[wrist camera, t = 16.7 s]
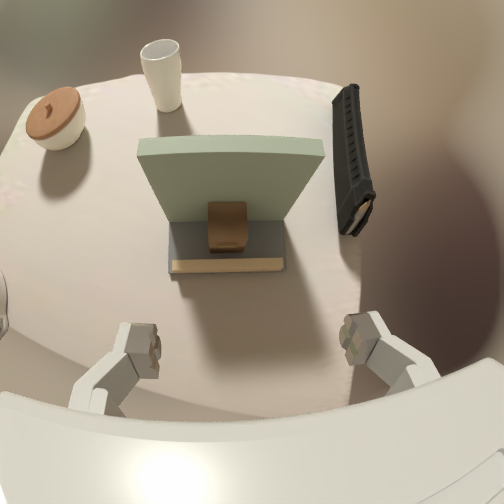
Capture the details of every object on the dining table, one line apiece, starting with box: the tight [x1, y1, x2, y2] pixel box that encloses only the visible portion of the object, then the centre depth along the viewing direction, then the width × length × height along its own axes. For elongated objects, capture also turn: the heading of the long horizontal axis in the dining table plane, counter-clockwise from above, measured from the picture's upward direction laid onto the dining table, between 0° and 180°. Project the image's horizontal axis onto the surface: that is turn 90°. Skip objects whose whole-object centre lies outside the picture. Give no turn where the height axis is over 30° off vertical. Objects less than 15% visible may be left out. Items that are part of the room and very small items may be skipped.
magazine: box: [332, 84, 376, 237], centre depth 45 cm, size 17×3×30 cm
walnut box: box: [208, 202, 248, 253], centre depth 40 cm, size 6×5×8 cm
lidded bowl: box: [26, 87, 86, 150], centre depth 40 cm, size 13×13×11 cm
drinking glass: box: [140, 39, 182, 112], centre depth 42 cm, size 7×7×15 cm
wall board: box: [137, 135, 325, 274], centre depth 34 cm, size 10×18×21 cm, turn 93°
